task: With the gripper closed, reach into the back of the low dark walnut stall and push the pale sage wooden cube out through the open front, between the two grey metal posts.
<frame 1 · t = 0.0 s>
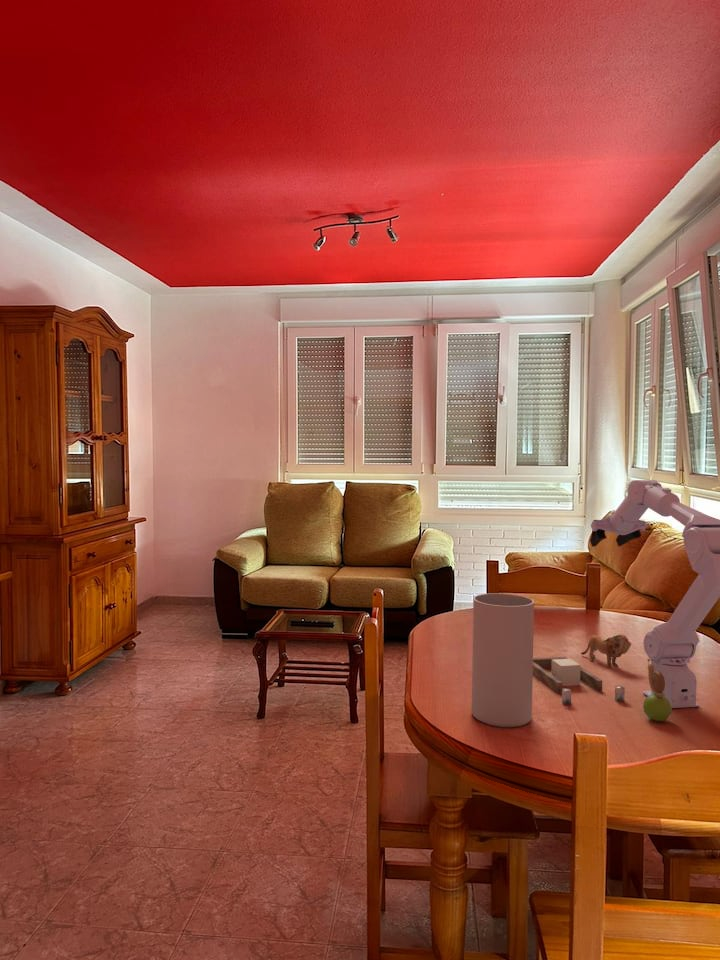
hand: (605, 543, 173), 32 cm above the table, tool tilted 50°, fingers open, 7 cm apart
snail figurine: (655, 720, 135), on the table
lion figurine: (605, 664, 172), on the table
stall: (562, 679, 159), on the table
posts: (593, 701, 144), on the table
cylinder vase: (501, 717, 135), on the table
cube: (565, 682, 157), on the table
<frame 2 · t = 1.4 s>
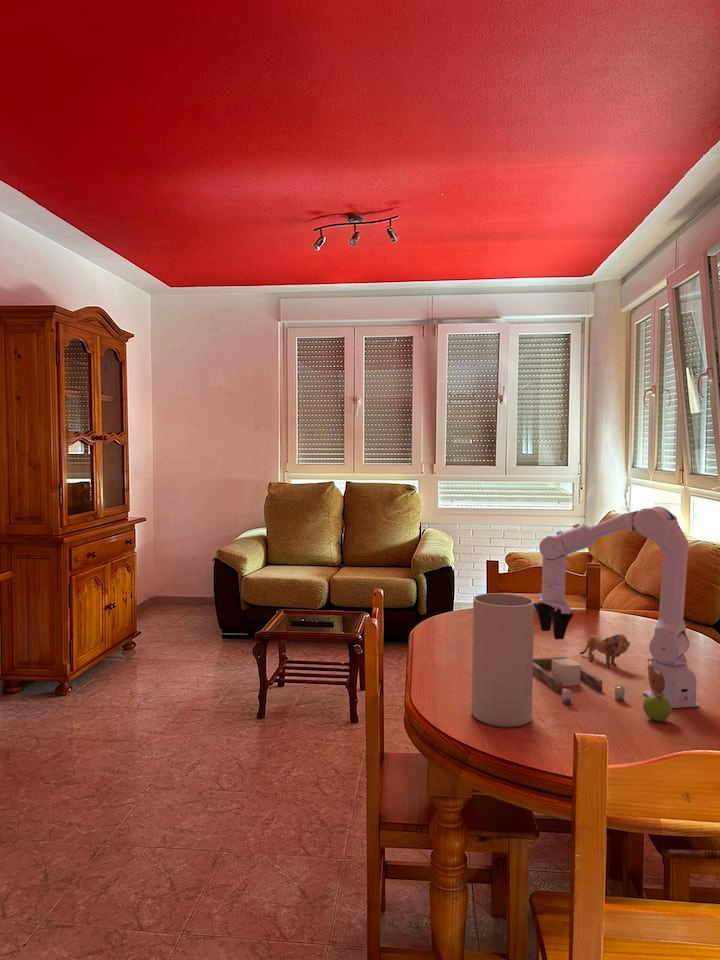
hand: (552, 634, 164), 10 cm above the table, tool pointing down, fingers open, 7 cm apart
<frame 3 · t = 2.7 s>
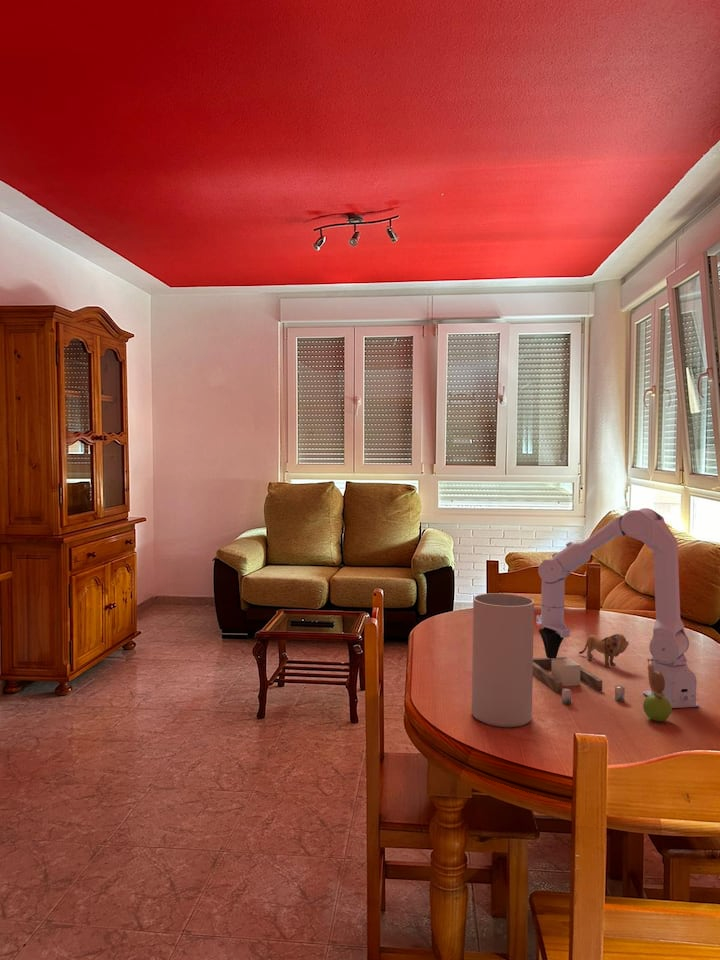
hand: (551, 657, 164), 4 cm above the table, tool pointing down, fingers closed
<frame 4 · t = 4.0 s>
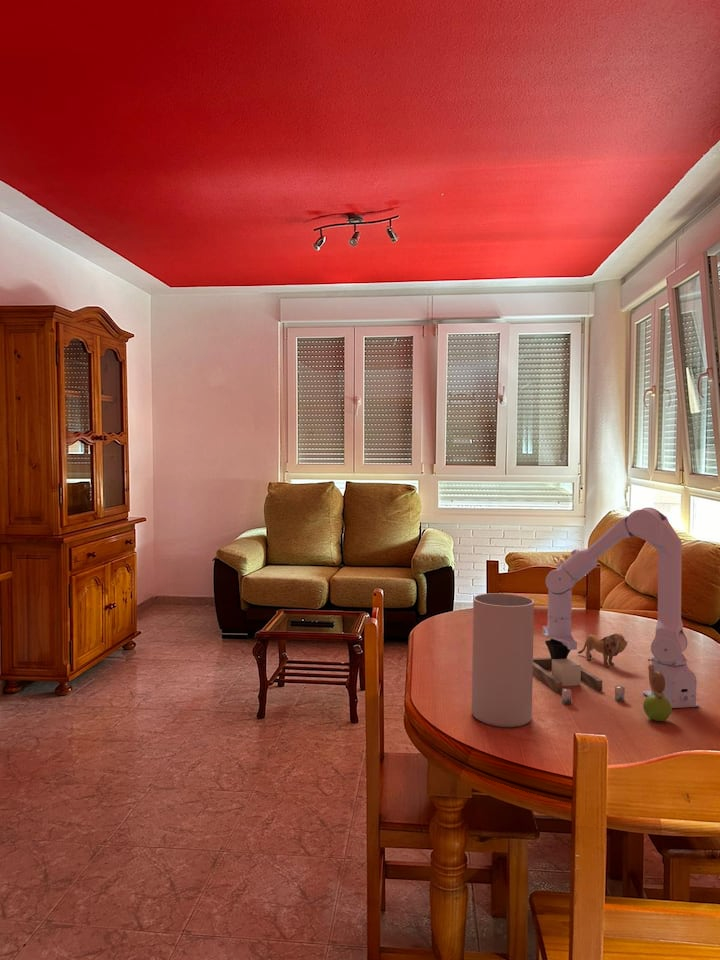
hand: (558, 669, 161), 2 cm above the table, tool pointing down, fingers closed
cube: (565, 682, 157), on the table, touching gripper
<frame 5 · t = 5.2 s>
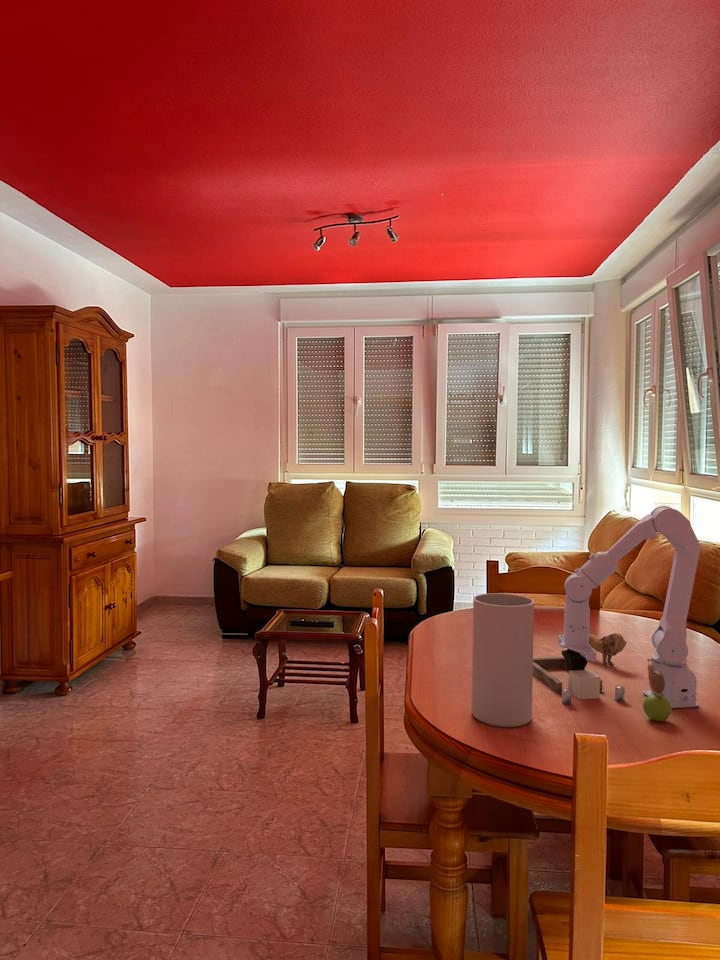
hand: (575, 681, 152), 2 cm above the table, tool pointing down, fingers closed
cube: (583, 694, 148), on the table, touching gripper
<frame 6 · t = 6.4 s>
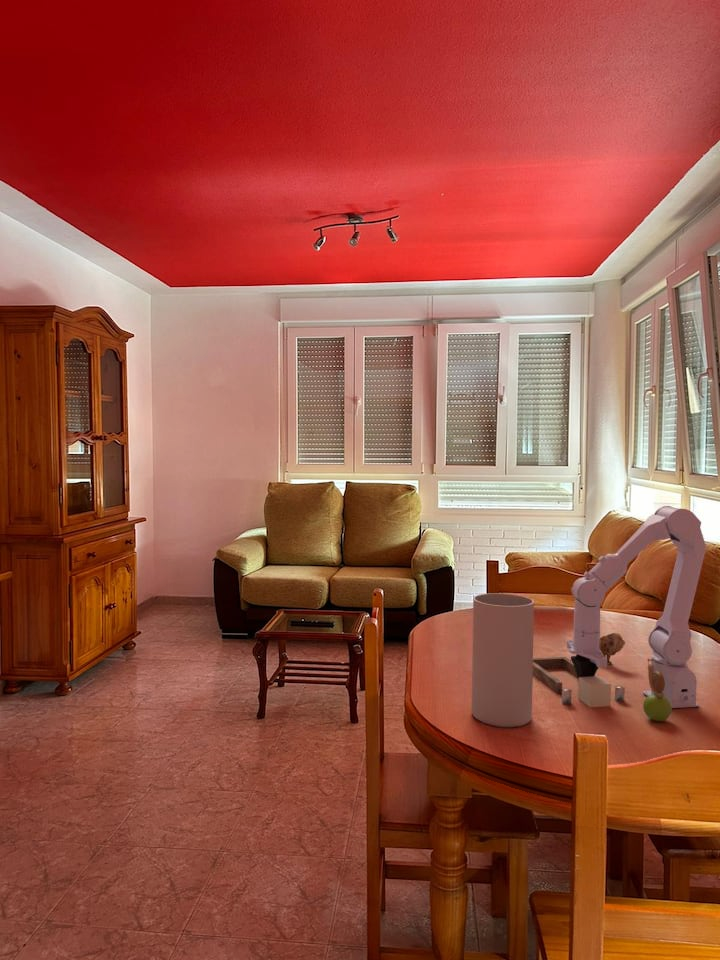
hand: (585, 688, 148), 2 cm above the table, tool pointing down, fingers closed
cube: (594, 702, 144), on the table, touching gripper
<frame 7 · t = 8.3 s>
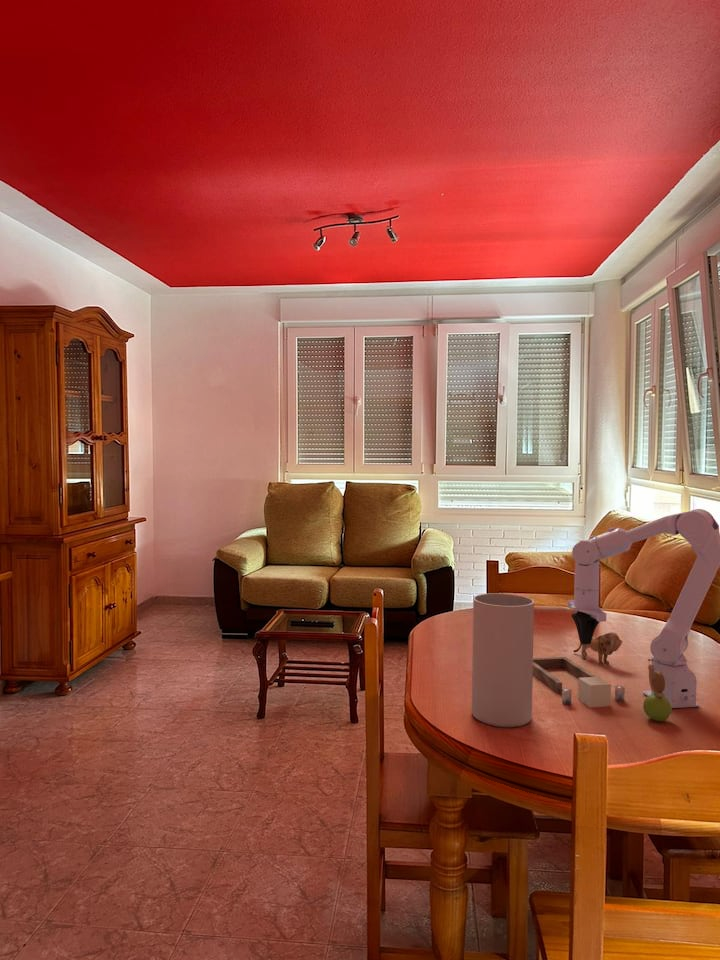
hand: (585, 643, 157), 9 cm above the table, tool pointing down, fingers closed
cube: (594, 702, 144), on the table
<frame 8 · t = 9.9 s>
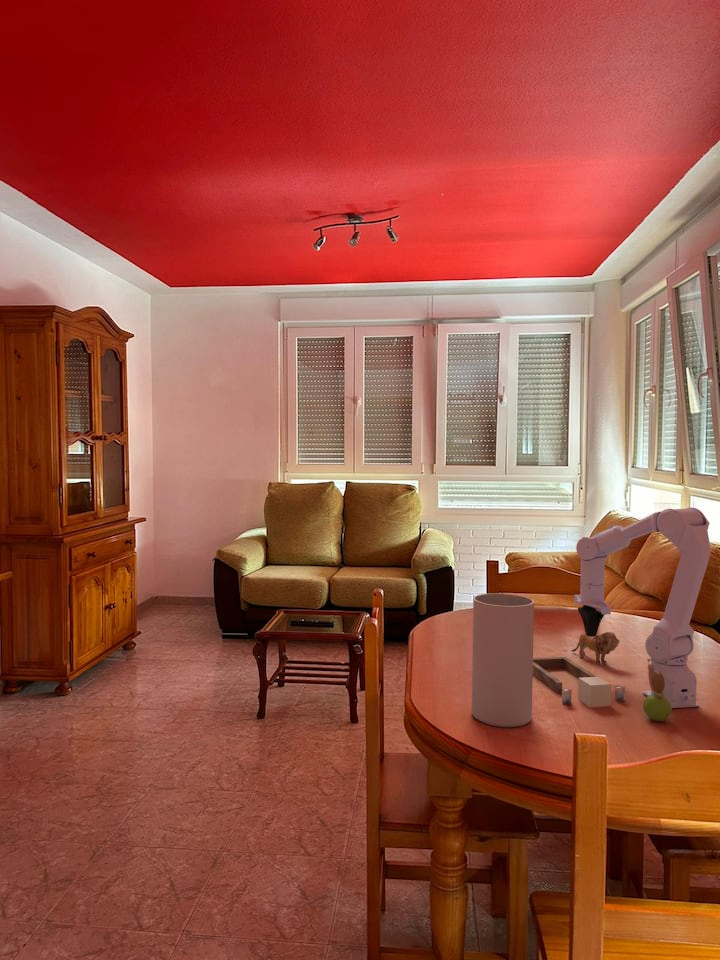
hand: (591, 635, 164), 9 cm above the table, tool pointing down, fingers closed
at the end: cube inside the target area on the table beside the stall (0.3 cm from its centre), on the table; cube tilted 0°; cube moved 13.4 cm from its start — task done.
